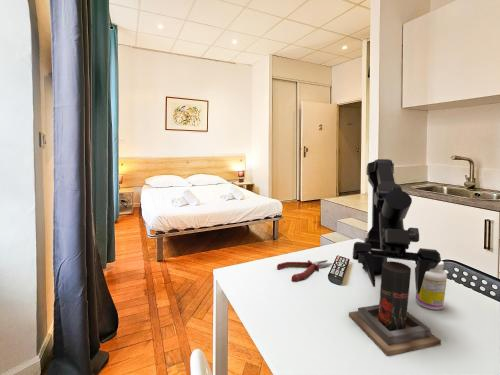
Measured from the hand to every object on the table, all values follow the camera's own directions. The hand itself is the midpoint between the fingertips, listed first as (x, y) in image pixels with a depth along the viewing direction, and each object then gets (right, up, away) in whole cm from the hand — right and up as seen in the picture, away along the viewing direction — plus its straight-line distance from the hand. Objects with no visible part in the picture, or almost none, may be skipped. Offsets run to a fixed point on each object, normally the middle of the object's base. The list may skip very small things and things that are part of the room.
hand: (395, 289), depth 63 cm
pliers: (-13, -7, +33) cm, 36 cm away
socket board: (0, -11, +3) cm, 11 cm away
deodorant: (+1, -10, +3) cm, 10 cm away
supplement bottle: (+16, -9, +13) cm, 23 cm away
